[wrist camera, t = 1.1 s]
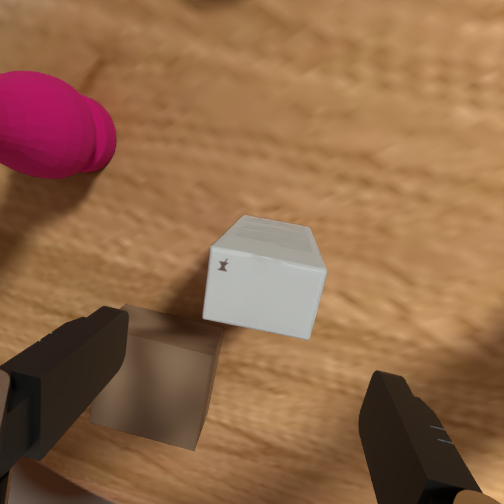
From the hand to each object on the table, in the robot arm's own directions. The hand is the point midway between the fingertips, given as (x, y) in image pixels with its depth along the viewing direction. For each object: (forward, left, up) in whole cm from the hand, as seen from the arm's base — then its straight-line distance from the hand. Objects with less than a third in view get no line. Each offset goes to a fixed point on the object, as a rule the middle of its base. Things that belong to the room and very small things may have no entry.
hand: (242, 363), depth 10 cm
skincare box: (0, 0, -18) cm, 18 cm away
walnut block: (+8, +14, -18) cm, 24 cm away
